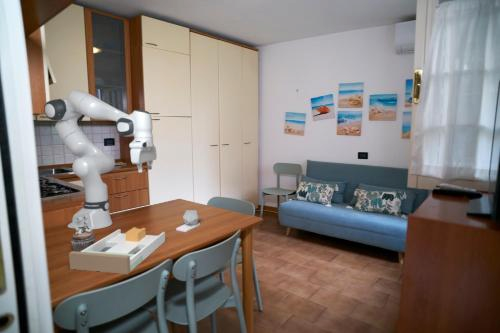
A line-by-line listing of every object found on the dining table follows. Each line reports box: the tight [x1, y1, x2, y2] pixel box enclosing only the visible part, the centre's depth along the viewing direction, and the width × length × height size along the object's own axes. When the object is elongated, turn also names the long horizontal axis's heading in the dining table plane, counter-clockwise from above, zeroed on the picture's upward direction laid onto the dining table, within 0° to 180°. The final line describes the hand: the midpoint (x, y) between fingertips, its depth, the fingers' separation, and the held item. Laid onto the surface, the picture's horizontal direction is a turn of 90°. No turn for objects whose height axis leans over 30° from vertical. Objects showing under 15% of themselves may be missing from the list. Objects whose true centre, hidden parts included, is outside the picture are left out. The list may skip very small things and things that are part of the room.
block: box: [125, 227, 147, 242], centre depth 148 cm, size 6×8×4 cm
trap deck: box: [68, 228, 166, 275], centre depth 137 cm, size 24×34×6 cm
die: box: [182, 209, 200, 226], centre depth 177 cm, size 8×9×10 cm
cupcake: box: [70, 226, 96, 252], centre depth 142 cm, size 10×10×10 cm
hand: (145, 170), depth 158 cm, fingers open, 8 cm apart
